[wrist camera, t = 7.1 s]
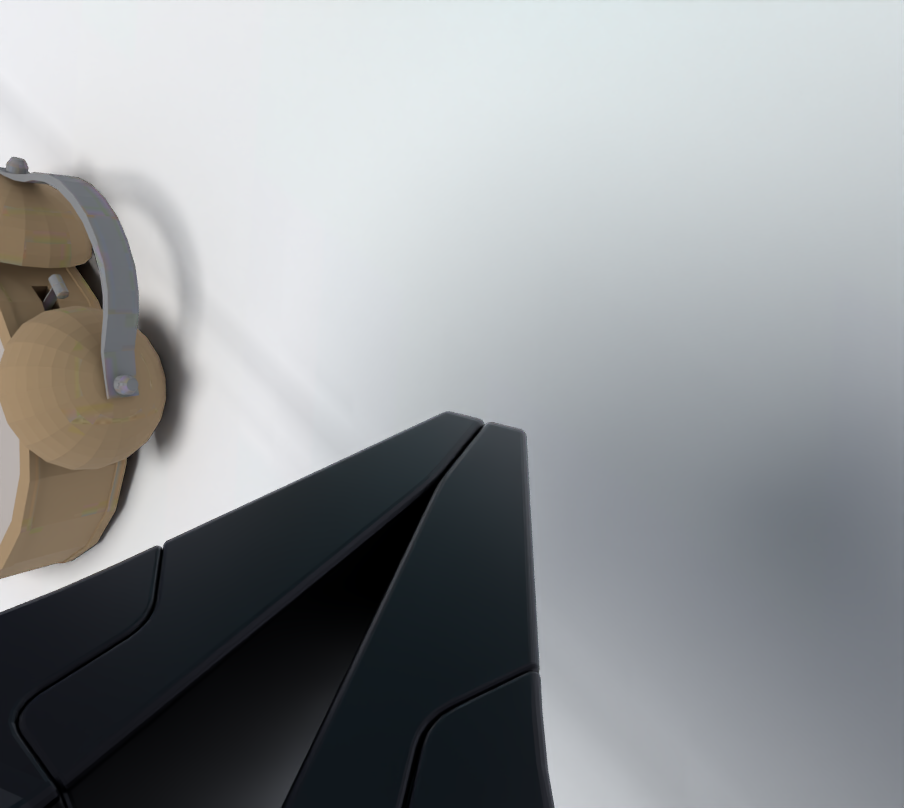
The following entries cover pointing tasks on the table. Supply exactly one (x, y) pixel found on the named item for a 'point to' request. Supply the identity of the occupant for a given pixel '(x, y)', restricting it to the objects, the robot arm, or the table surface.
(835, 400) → the table surface
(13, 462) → the alarm clock
